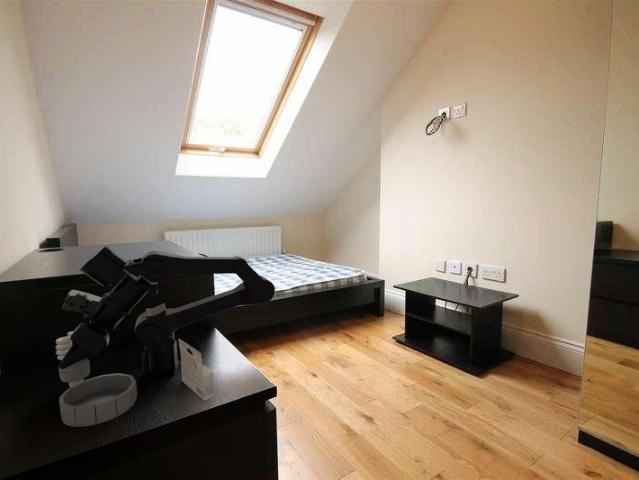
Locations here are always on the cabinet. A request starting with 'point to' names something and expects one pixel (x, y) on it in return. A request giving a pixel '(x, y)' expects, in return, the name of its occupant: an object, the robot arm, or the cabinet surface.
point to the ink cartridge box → (196, 372)
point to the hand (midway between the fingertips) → (65, 358)
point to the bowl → (97, 400)
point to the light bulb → (75, 371)
